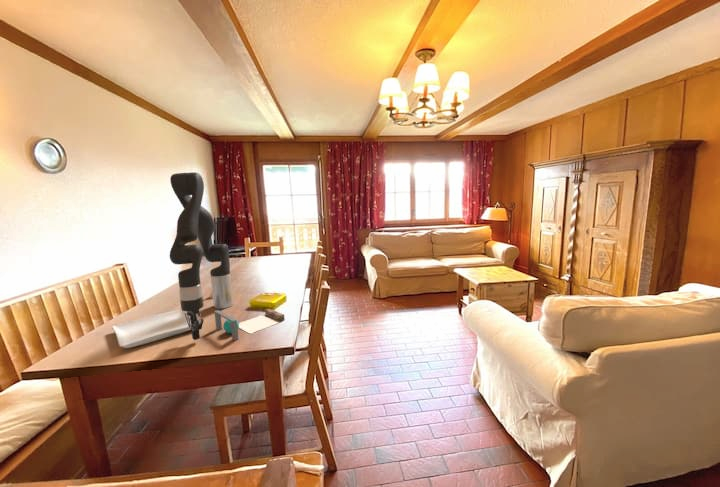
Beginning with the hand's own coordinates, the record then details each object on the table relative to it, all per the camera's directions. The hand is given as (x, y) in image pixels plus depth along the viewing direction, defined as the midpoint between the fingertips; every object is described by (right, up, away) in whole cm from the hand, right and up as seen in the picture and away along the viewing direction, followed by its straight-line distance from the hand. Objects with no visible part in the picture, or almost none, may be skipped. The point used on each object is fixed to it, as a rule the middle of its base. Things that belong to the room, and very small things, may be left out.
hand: (196, 338), depth 114 cm
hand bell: (-20, +6, +57) cm, 61 cm away
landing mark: (+18, +1, +16) cm, 24 cm away
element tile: (+15, +4, +42) cm, 45 cm away
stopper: (+24, +3, +23) cm, 34 cm away
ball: (+10, +3, +8) cm, 13 cm away
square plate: (-23, -1, +11) cm, 26 cm away
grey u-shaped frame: (+9, 0, +7) cm, 11 cm away
